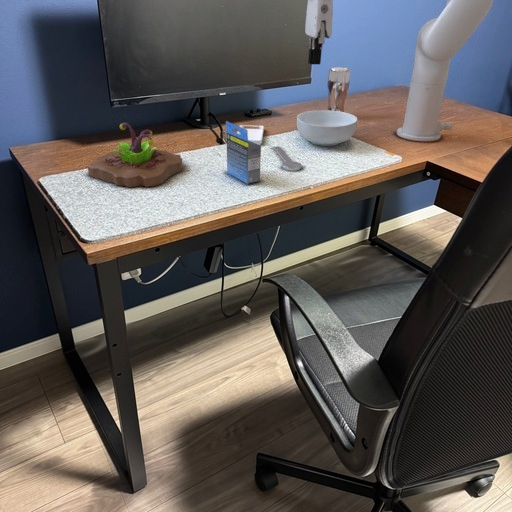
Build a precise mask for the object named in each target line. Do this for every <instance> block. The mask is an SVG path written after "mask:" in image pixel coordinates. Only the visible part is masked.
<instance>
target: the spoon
mask: <svg viewBox="0 0 512 512" xmlns="http://www.w3.org/2000/svg"><path fill="white" fill-rule="evenodd" d="M273 149H274V150H275V152H276V153H277V154H278V155H279V157H280V158H281V159H282V161H283V163H282V169H283V170H285V171H288V172H289V171H290V172H297V171H300V170H301V169H302V163H301V162H298V161H292V160H291V159H290V158H289V157H288V156H287V154H286V153H285V152H284V151H283V149H281V147H280V146H274V147H273Z"/></svg>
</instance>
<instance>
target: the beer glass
mask: <svg viewBox="0 0 512 512" xmlns="http://www.w3.org/2000/svg"><path fill="white" fill-rule="evenodd" d="M328 71H329V72H328V77H327V85H326V86H327V89H326V90H327V102H328V103H327V110H331V111H340V112H345V104H346V100H347V97H348V93H349V89H350V81H351V68H348V67H342V66H341V67H340V66H339V67H337V66H336V67H334V66H333V67H330V68H329V70H328Z"/></svg>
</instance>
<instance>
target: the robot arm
mask: <svg viewBox="0 0 512 512" xmlns="http://www.w3.org/2000/svg"><path fill="white" fill-rule="evenodd" d="M493 4H494V0H446V6H445V7H444V8H443V9H442V11H441V13H440V14H439V15H438V17H434V18H431V19H430V20H428V21H427V22H425V23H424V24H423V25H422V26H421V28H420V30H419V32H418V35H417V37H416V42H415V43H416V44H415V52H414V60H413V66H412V74H411V79H410V83H409V90H408V96H407V102H406V108H405V113H404V119H403V125H402V126H401V127H398V128H397V129H396V135H397V136H398V137H400V138H402V139H405V140H409V141H414V142H424V143H425V142H437V141H438V140H440V139H441V136H442V133H441V131H443V130H444V131H445V130H446V131H448V130H449V131H450V130H452V128H453V123H452V122H443V121H440V120H439V119H440V116H441V115H440V114H441V110H442V104H443V99H444V95H445V89H446V85H447V82H448V76H449V72H450V71H449V70H450V64H451V58H453V57H454V56H456V55H457V54H458V53H459V51H460V50H462V48H463V47H464V45H465V44H466V43H467V41H468V40H469V39H470V38H471V36H473V34H474V33H475V31H476V30H477V29H478V28H479V26H480V25H481V24H482V22H483V21H484V20H485V19H486V17H487V15H488V14H489V12H490V11H491V8H492V7H493ZM306 5H307V6H306V12H305V14H306V15H305V26H304V32H305V35H306V36H307V37H308V42H309V43H308V45H309V46H308V48H309V49H308V60H307V63H308V64H309V65H321V63H322V52H323V51H322V50H323V45H324V44H325V41H326V39H330V38H331V37H332V31H333V15H334V2H333V0H307V4H306Z"/></svg>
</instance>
